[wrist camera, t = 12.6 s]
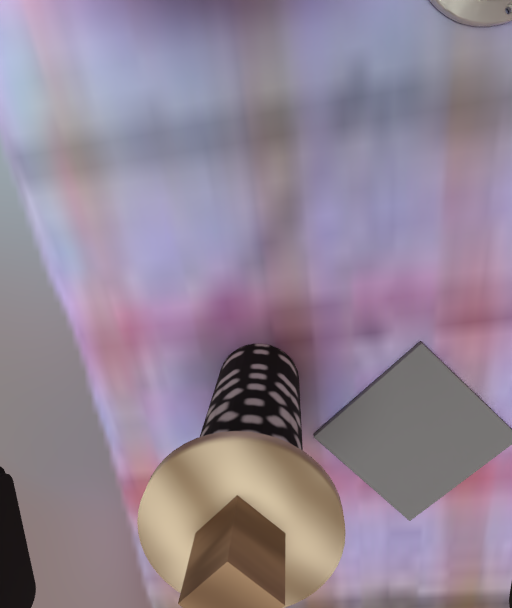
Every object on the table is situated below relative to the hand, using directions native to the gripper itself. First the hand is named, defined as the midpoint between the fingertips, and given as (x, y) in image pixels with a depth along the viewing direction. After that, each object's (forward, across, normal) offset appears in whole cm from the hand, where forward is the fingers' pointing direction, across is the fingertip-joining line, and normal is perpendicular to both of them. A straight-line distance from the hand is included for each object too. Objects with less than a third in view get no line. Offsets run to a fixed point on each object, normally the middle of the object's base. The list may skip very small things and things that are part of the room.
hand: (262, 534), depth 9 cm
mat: (+38, -13, +22) cm, 46 cm away
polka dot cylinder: (+38, +3, +16) cm, 42 cm away
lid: (+18, +3, +16) cm, 24 cm away
